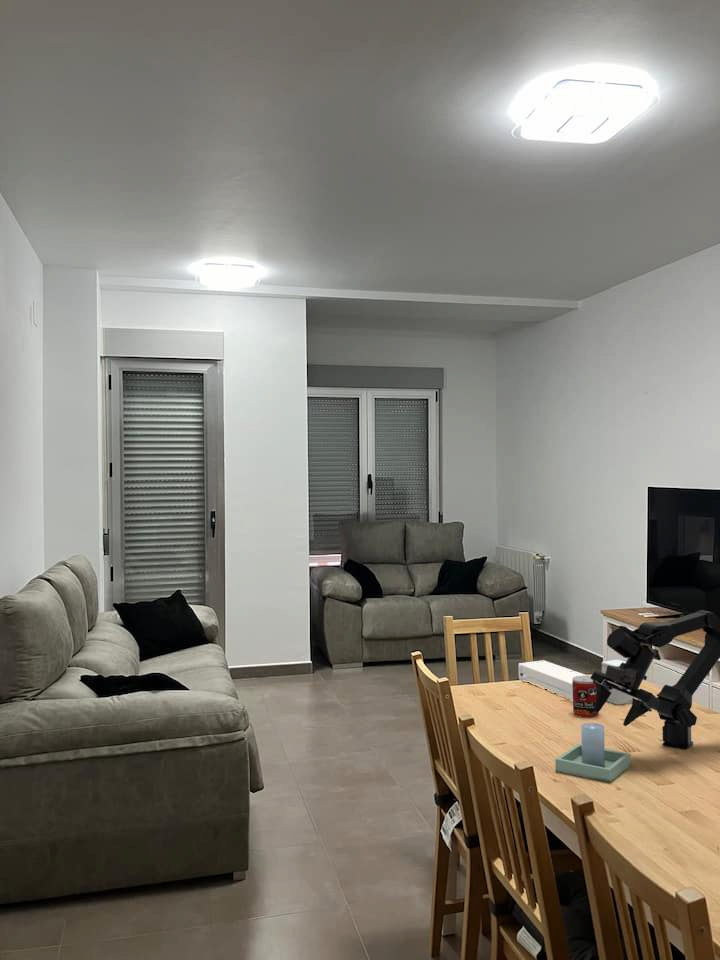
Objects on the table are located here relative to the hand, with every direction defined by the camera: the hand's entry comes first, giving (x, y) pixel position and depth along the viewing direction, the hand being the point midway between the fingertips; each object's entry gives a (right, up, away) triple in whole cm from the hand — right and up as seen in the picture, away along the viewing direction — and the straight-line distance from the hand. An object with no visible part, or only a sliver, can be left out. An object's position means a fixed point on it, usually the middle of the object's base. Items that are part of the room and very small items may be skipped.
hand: (610, 718), depth 219 cm
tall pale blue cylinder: (-6, -10, -8) cm, 14 cm away
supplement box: (+18, -9, +52) cm, 56 cm away
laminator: (+3, -10, +70) cm, 71 cm away
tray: (-6, -10, -8) cm, 14 cm away
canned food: (+4, -10, +39) cm, 41 cm away
